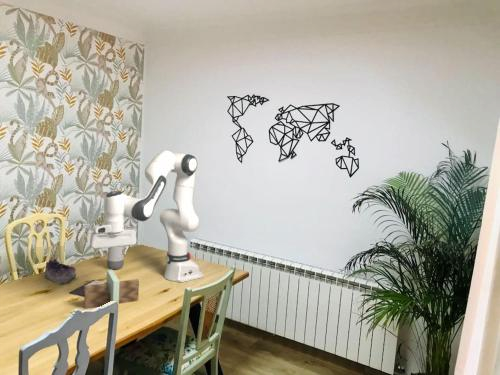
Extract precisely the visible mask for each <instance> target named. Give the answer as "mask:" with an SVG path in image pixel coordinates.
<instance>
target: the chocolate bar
mask: <svg viewBox="0 0 500 375" xmlns="http://www.w3.org/2000/svg"><path fill="white" fill-rule="evenodd" d="M104 283H107V281H105V282H104V281H101V280H95V279H93V280H90V281H88V282H87V283H84V284H83V285H80V286H79V287H77V288H75V289H72V290H71V291H69V292H68V294H69V295H74V296H78V297H83V298H84V292H85V286H89V285H96V284H104Z"/></svg>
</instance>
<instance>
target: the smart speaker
mask: <svg viewBox="0 0 500 375" xmlns="http://www.w3.org/2000/svg"><path fill="white" fill-rule="evenodd" d="M122 250H124V246H116V247H107V258H106V265H107V268H108V270H111V269H112V270H113V271H117V270H118V271H119V270H120V269H122V268H123V267H124V264H125V255H122Z"/></svg>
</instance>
